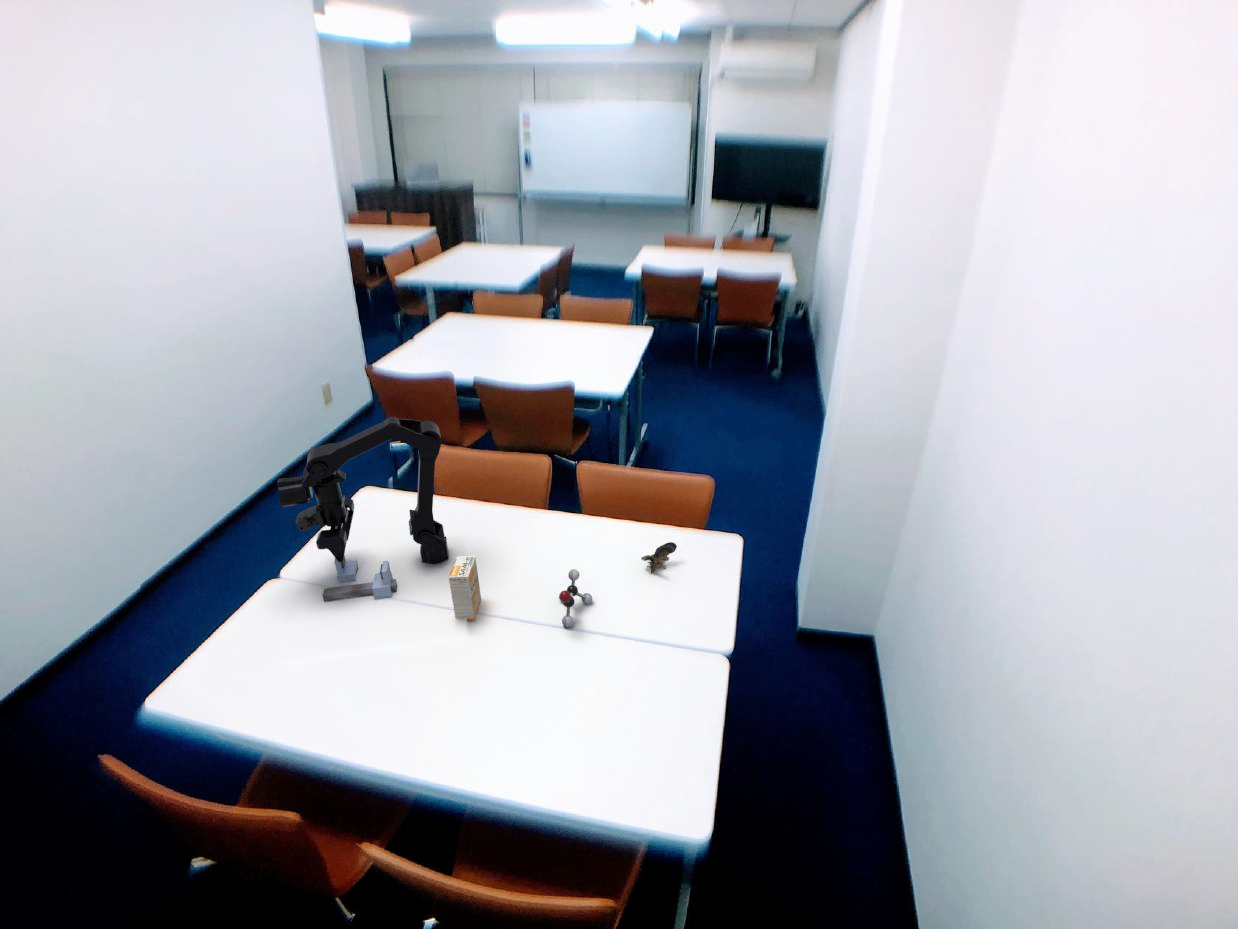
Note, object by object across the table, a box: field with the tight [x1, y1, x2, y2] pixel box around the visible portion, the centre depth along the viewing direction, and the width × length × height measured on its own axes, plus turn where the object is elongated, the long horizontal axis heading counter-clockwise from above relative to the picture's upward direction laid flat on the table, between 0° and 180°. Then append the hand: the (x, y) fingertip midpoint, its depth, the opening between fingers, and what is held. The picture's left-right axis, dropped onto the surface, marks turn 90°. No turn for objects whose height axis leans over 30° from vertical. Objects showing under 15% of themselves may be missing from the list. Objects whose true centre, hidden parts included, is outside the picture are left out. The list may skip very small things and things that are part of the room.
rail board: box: [322, 578, 398, 603], centre depth 171 cm, size 18×9×3 cm, turn 102°
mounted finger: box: [372, 560, 394, 600], centre depth 170 cm, size 4×6×7 cm, turn 12°
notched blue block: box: [333, 554, 359, 584], centre depth 176 cm, size 4×6×7 cm, turn 12°
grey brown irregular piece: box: [640, 541, 678, 574], centre depth 179 cm, size 8×7×9 cm
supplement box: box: [448, 555, 482, 622], centre depth 163 cm, size 8×5×13 cm, turn 179°
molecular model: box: [558, 569, 593, 628], centre depth 162 cm, size 8×12×11 cm
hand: (343, 550), depth 174 cm, fingers open, 9 cm apart
